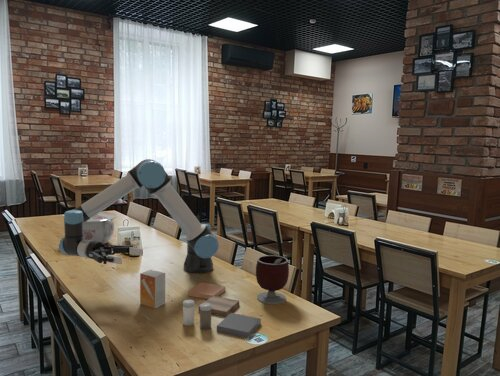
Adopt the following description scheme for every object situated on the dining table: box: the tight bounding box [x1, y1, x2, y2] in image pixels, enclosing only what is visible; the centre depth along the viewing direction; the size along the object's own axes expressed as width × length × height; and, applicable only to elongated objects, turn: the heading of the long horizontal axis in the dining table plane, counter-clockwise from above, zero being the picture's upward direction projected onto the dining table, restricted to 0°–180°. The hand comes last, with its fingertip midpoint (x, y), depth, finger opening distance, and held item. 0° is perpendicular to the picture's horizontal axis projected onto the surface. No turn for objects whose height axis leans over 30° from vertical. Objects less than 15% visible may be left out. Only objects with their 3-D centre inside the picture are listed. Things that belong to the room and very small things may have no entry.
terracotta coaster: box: [187, 281, 226, 300], centre depth 183 cm, size 12×12×2 cm
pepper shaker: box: [199, 302, 212, 331], centre depth 150 cm, size 4×4×8 cm
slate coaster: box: [216, 312, 262, 339], centre depth 151 cm, size 12×12×2 cm
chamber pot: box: [83, 212, 118, 245], centre depth 257 cm, size 28×28×21 cm
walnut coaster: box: [198, 296, 240, 318], centre depth 167 cm, size 12×12×2 cm
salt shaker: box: [182, 299, 196, 327], centre depth 153 cm, size 4×4×8 cm
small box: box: [139, 269, 166, 309], centre depth 169 cm, size 8×6×13 cm
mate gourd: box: [255, 254, 290, 305], centre depth 177 cm, size 16×14×20 cm
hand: (132, 256), depth 171 cm, fingers open, 13 cm apart
